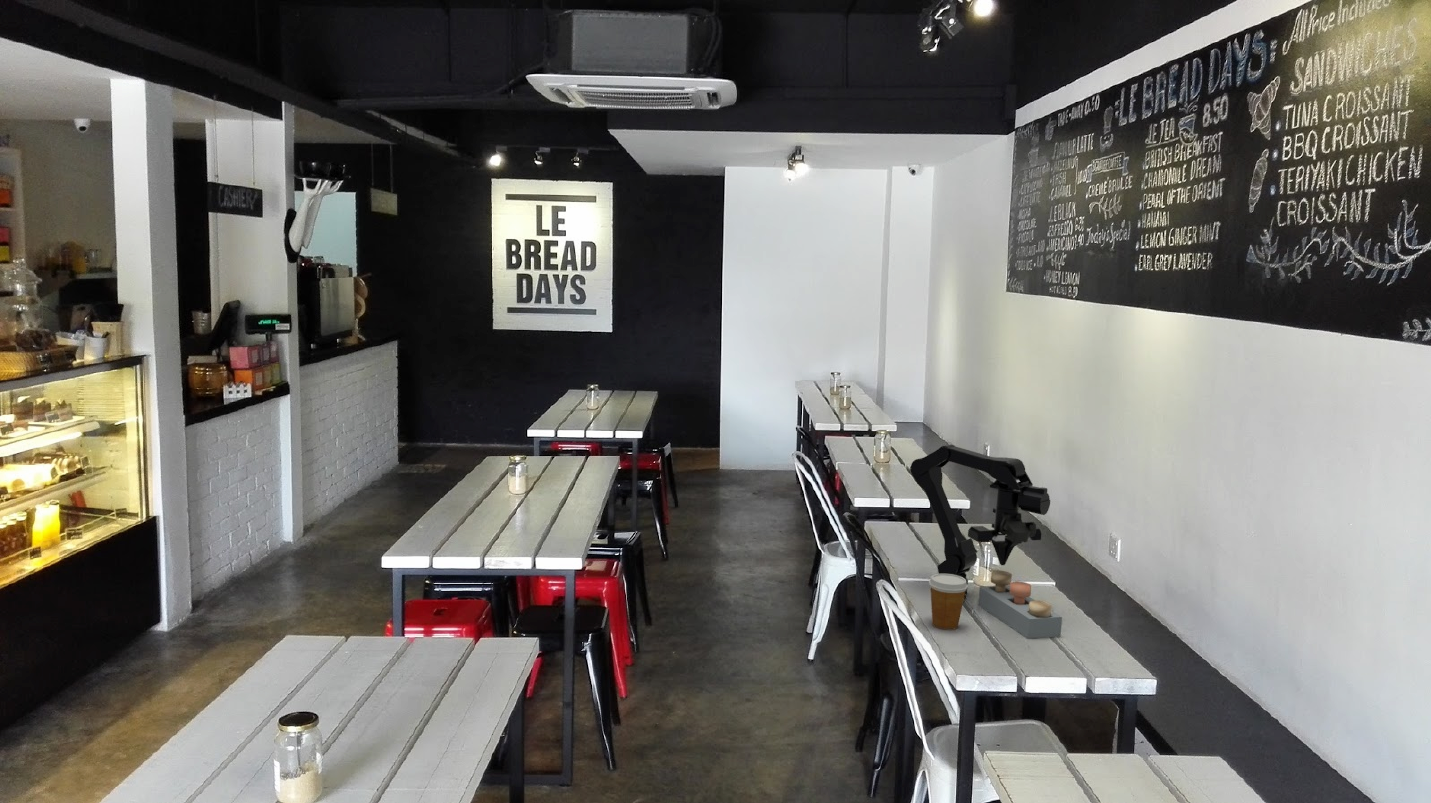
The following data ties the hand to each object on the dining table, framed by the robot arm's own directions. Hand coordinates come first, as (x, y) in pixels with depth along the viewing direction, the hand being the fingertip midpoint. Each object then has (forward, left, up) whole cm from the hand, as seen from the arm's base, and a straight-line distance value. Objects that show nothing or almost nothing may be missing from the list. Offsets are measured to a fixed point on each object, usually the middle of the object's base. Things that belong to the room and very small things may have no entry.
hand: (1002, 564), depth 267 cm
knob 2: (+6, -17, -12) cm, 22 cm away
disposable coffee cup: (-17, -15, -12) cm, 26 cm away
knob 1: (0, 0, -10) cm, 10 cm away
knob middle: (+3, -9, -10) cm, 13 cm away
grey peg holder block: (+3, -9, -12) cm, 15 cm away
